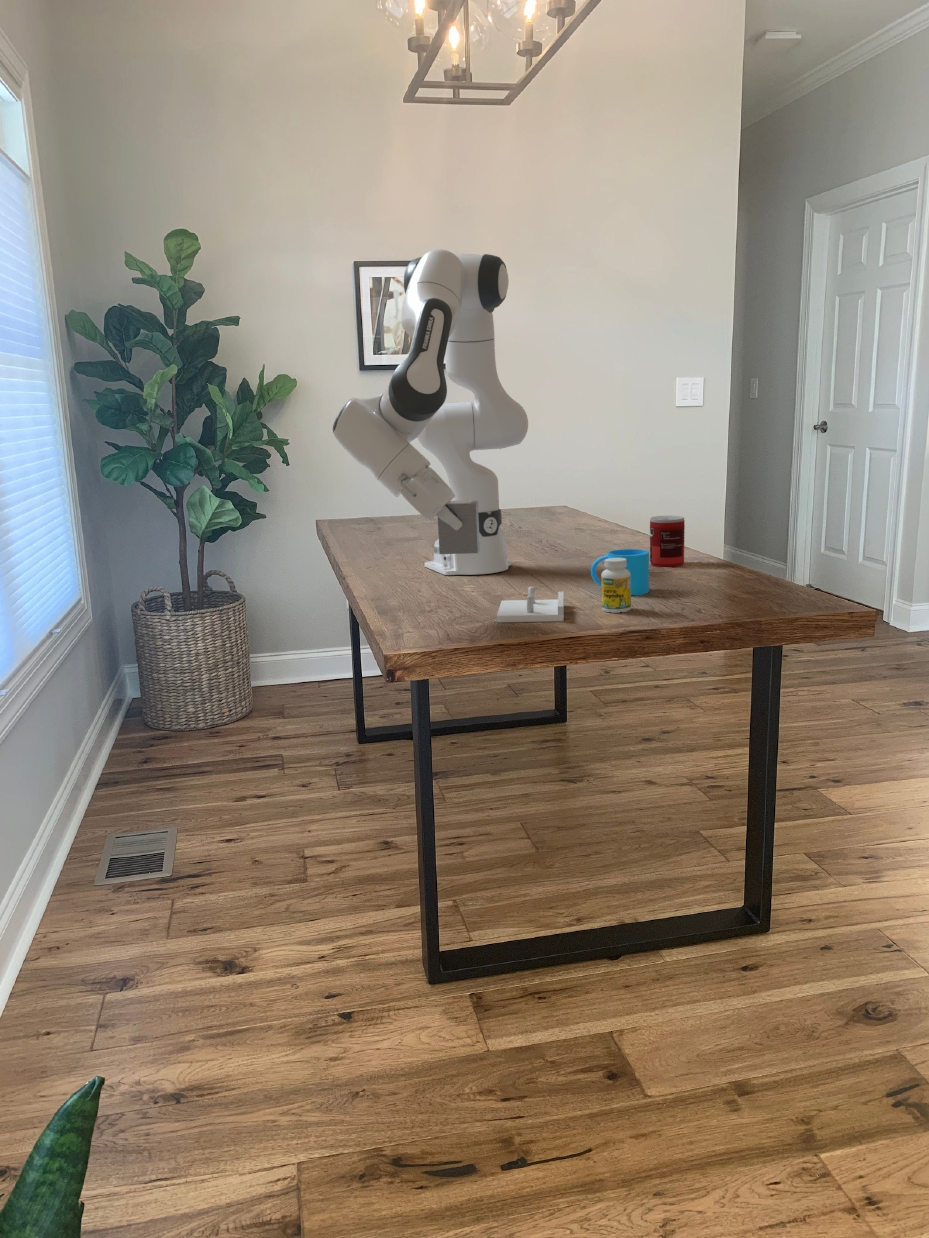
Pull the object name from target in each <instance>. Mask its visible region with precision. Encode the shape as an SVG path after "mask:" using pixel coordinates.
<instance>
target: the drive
mask: <svg viewBox="0 0 929 1238" xmlns="http://www.w3.org/2000/svg"><path fill="white" fill-rule="evenodd" d="M445 506H446V507H447V508H448V509H449V511H450V512H452V513H453V514H454V515H455V516H456V517H458V518H459V519H460V520H461V521H462V522H463V525H462V526H461V527H460V528H459V529H458V530H455V529H453V528H452V527H451V526H450V525H449V524H447V523H446V522H444V521H442V520H441V519H440V518H439V517H438V516H437V529H438V530H437V531H438V539H439V553H440V554H468V553H478V552H479V550H480V541H479V517H478V501H472V500H469V501H452V500H451V501H449V502H448V503H447V504H446V505H445Z"/></svg>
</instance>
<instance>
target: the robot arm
mask: <svg viewBox="0 0 929 1238" xmlns="http://www.w3.org/2000/svg"><path fill="white" fill-rule="evenodd" d="M508 289H509V274H508V270H507V266H506V264H505V262H504V261H503V259H502V258H501V257H500V256H497V255H493V254H489V253H488V254H487V253H485V254H473V253H453V252H451V251H449V250H446V249H441V248H440V249H438V248H436V249H431V250H429V251H427V252H426V253H424V254H423V255H422V256H419V257H417V258H414V259H412V260H411V261H410V262H409V263H408V264H407V266H406V267H405V270H404V275H403V290H404V298H403V302H402V308H401V317H400V319H401V320H400V321H401V323H400V324H401V327H402V328H403V330H404V332H405V333H406V334H407V335H408V336H409V337H410V338H411V344H410V348H409V353H408V356H407V357H406V358H405V359H404V360H403V361H402V362H400V364H399V365H398V366H397V367H396V368H395V370H394V372H393V373H392V376H391V378H390V381H389V383H388V385H387V387H386V389H385V390H384V392H382V393H381V394H377V395H375V396H372V397H365V398H357V397H351V398H350V399H349V400H348V401H346V402H345V403H344V405H343V406H342V408H341V409H340V411H339V413H338V414H337V416H336V418H335V420H334V422H333V424H332V433H333V435H334V438H335V439H336V440H337V441H338V443H339V444H340V445H341V447H342V448H343V449H344V450H345V451H346V452H347V453H348V454H349V455H350V456H352V458H353V459H354V460H355V461H357V462H358V463H359V464H360V465H362V466H364V467H366V468H367V469H368V470H369V471H370V472H371V473H372V475H373V476H374V478H375V479H376V480H377V481H378V482H379V483H381V485H383V486H384V487H385V488H386V490H388V492H390V493H391V494H392V495H393V496H395V497H396V498H398V497H399V496H400V495H401V496H402V497H403V498H404V499H405V500H406V502H408V503H409V504H410V505H411V506H412V507H413V508H414V509H415V510H416V511H417V512H418V513H419V514H420V515H421V516H422V517H424V518H425V519H427V520H428V521H431V520H433V519H434V518H435V517H436V516H437V518H438V517H439V518H440V519H441V520H442V521H444V522H446V523H447V524H449V525H450V526H451V527H452V528H453V529H455V530H458V529H459V528H460V527H461V526H462V525H463V522H462V521H461V520H460V519H459V518H458V517H456V516H455V515H454V514H453V513H452V512H450V511H449V509H448V508H447V507H446V506H445V505H446V504H447V503H448V502H449V501H469V500H472V501H478V517H479V541H480V550H479V552H478V553H468V554H440V553H439V538H438V539H437V540H435V542H434V545H433V560H430V561H427V562H424V568H427V569H429V570H431V571H434V572H437V573H440V574H441V575H444V576H455V575H467V576H468V575H470V576H471V575H486V574H487V575H488V574H494V573H495V574H496V573H500V572H504V571H507V570H508V569H509V567H510V566H512V561H511V559H509V557H508V549H507V542H506V535H505V532H504V531H503V530H502V527H501V525H502V523H503V521H502V518H503V514H502V509H500V501H499V500H500V495H499V478H498V476H497V474H496V473H495V472H494V471H493V470H492V469H490V468H488V467H486V466H483V465H482V464H480V463H477V462H475V461H473V460H472V458H471V452H472V451H483V450H498V449H499V450H502V449H505V448H506V449H507V448H509V447H510V448H511V447H514V446H517V445H520V444H521V443H522V442H523V441H524V439H525V438H526V435H527V433H528V430H529V417H528V415H527V412H526V410H525V409H524V407H523V406H522V405H521V404H520V403H519V402H517V400H515V399H513V398H512V397H511V396H510V395H509V394H508V393H507V391H506V389H504V387H503V385H502V383H501V381H500V378H499V376H498V372H497V364H496V362H497V361H496V352H495V348H496V347H495V323H494V316H493V312H494V310H495V309H496V308H498V307H500V306H501V305H502V304H503V302H504V301H505V299H506V298H507V293H508ZM444 361H445V362H444ZM444 363H445V364H444ZM444 365H445V368H444ZM445 373H446V375H445ZM446 376H447V377H448V378H449V380H450V381H452V382H453V383H455V385H458V386H460V387H462V388H465V389H466V390H469V391H471V392H472V393H473V395H474V399H473V400H471V401H459V402H458V401H455V402H446V400H447V399H446V398H447V395H448V385H447V381H446ZM415 439H418V442H419V443H420V444H421V446H422V447H423V448H424V449H426V450H427V451H429V452H430V453H431V454H433V455H434V457H435V458H437V460H438V461H439V462H440V463H441V465H442V466H443V468H444V470H445V473H446V475H447V478H448V482H449V485H448V484H447V482H445V481H444V479H442V477H441V476H440V475H439V474H438V473H437V472H436V471H435V470H434V469H433V468H432V467H430V466H431V461H429V459H427V458H426V457H425V456H424V455H423V454H422V453H421V452H420V451H419V450H418V449H416V448H415V446H414V445H412V444H411V442H412V441H415Z"/></svg>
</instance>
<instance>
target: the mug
mask: <svg viewBox="0 0 929 1238" xmlns="http://www.w3.org/2000/svg"><path fill="white" fill-rule="evenodd" d="M608 558H625V559H626V560H627V566H626V567H625V569H627V570H628V571H629V572H630V574H631V595H639V596H643V595H642V594H644V595H646V594H645V593H647V594H649V593H650V550H649V551H648V550H646V549H638V548H625V549H623V548H622V549H614V550H610V551H608V552H607V554H606V555H603V556H601V557H598V558H597V559H596V560H595V561H594V562H593V563H592V564H591V568H590V573H591V578H592V579H593V581H594V583H596V584H597V585H599V587H601V588H602V585H601V580H600V579H599V577H598V576H597V573H596V571H597V567H598V565H599V564H600V563H601V562H603V561H605V559H608ZM648 592H649V593H648Z"/></svg>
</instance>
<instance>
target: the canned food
mask: <svg viewBox="0 0 929 1238" xmlns="http://www.w3.org/2000/svg"><path fill="white" fill-rule="evenodd" d="M649 519H650V520H649V564H650V565H651V566H652V565H653V566H652V567H654V566H655V567H656V568H662V567H672V568H679V567H678V566H680V567H682V566H684V563H685V529H686V527H685V525H686V524H685V517H684V516H680V515H656V516H652V517H650V518H649ZM681 565H682V566H681Z"/></svg>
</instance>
